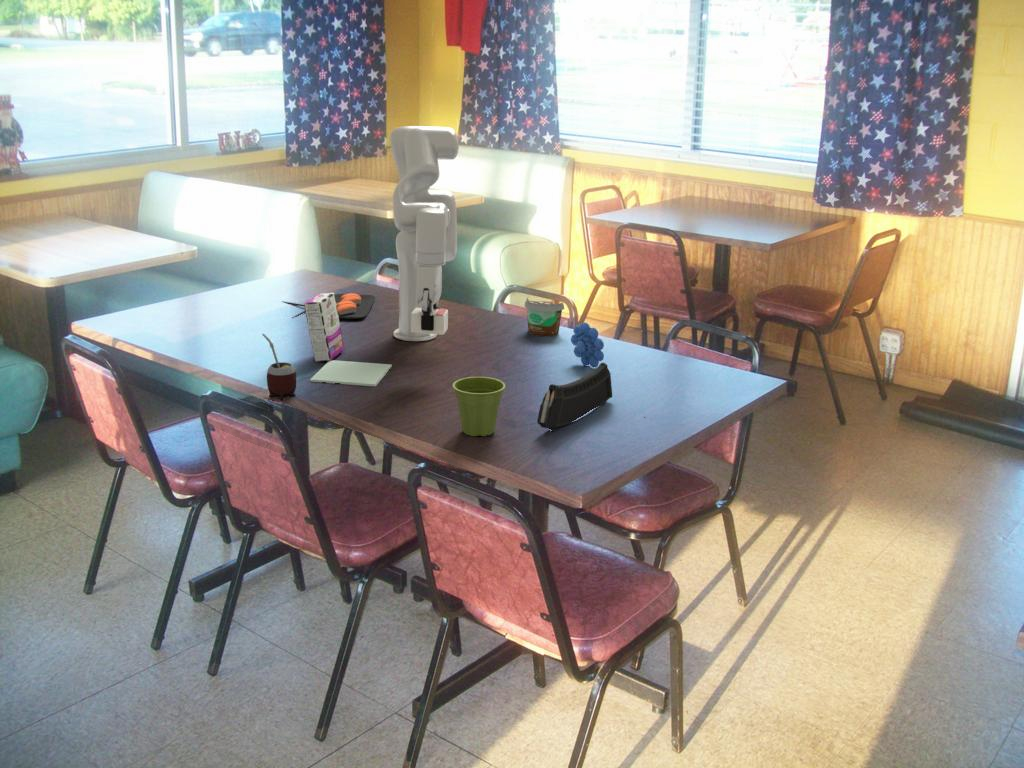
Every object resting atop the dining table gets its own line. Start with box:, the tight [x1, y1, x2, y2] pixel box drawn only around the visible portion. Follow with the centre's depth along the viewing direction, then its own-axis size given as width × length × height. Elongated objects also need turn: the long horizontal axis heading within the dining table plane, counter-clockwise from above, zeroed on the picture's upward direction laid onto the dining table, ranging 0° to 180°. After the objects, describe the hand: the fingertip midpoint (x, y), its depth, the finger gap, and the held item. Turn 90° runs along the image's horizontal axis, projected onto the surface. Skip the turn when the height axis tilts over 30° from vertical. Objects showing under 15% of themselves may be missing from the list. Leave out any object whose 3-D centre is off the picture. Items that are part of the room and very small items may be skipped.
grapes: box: [570, 321, 605, 368], centre depth 295 cm, size 12×7×12 cm, turn 44°
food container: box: [523, 297, 565, 337], centre depth 324 cm, size 12×6×10 cm, turn 68°
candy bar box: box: [303, 292, 345, 362], centre depth 295 cm, size 11×5×16 cm, turn 169°
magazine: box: [536, 362, 613, 431], centre depth 257 cm, size 17×3×30 cm
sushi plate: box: [281, 293, 376, 320], centre depth 346 cm, size 29×30×4 cm
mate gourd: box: [261, 333, 297, 402], centre depth 263 cm, size 8×8×15 cm
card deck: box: [411, 307, 449, 336], centre depth 280 cm, size 6×8×5 cm, turn 82°
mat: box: [309, 359, 393, 387], centre depth 284 cm, size 17×17×1 cm
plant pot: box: [452, 376, 506, 437], centre depth 245 cm, size 12×12×11 cm
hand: (429, 325), depth 281 cm, fingers closed on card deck, 5 cm apart
